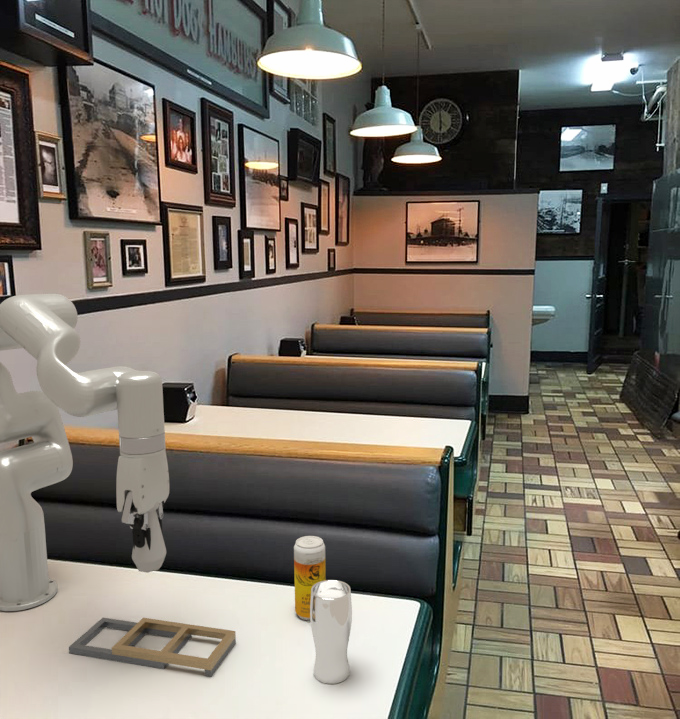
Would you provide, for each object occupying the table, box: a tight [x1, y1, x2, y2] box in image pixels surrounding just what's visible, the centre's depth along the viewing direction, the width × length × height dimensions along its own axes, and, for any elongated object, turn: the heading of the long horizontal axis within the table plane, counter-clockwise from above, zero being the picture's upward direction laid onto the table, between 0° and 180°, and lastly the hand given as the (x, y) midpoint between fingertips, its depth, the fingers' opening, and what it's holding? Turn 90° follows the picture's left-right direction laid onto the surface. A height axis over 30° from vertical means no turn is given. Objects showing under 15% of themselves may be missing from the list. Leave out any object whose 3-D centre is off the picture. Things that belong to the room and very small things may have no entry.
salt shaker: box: [131, 501, 167, 574], centre depth 112 cm, size 6×6×13 cm
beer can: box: [293, 535, 327, 621], centre depth 126 cm, size 6×6×15 cm
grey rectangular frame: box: [68, 617, 193, 670], centre depth 117 cm, size 19×10×1 cm, turn 75°
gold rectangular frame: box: [111, 617, 237, 678], centre depth 114 cm, size 19×10×2 cm, turn 75°
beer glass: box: [309, 579, 353, 685], centre depth 107 cm, size 7×7×15 cm
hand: (148, 544), depth 113 cm, fingers closed on salt shaker, 3 cm apart
